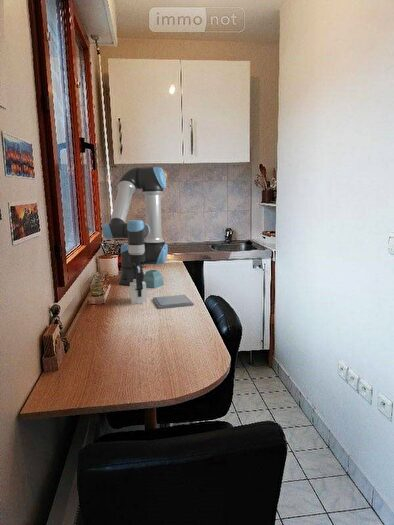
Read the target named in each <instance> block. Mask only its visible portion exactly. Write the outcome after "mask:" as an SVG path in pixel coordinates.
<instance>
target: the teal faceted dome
mask: <svg viewBox="0 0 394 525" xmlns="http://www.w3.org/2000/svg"><path fill="white" fill-rule="evenodd" d="M143 282H145V283H146V289H152V290H153V289H157V288H159V287H162V286H164V279H163V275H162V273H161V272H160V270H157V269H150V270H147V271H145V273H144V277H143Z"/></svg>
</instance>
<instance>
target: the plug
mask: <svg viewBox="0 0 394 525" xmlns="http://www.w3.org/2000/svg"><path fill="white" fill-rule="evenodd" d="M142 284H143V289H142V297H143V303H142V304H145V303H147V302H148V301H147V298H148V296H147V288H146V283H145V282H142ZM136 288H137V287H136V279H133V282H132V283H130V285H129V292H130V295H129V296H130V303H131V304H133V305H134V304H137V297H136V290H135V289H136Z"/></svg>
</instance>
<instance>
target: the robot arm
mask: <svg viewBox="0 0 394 525" xmlns="http://www.w3.org/2000/svg"><path fill="white" fill-rule="evenodd" d="M166 188H167V180H166V174H165V171H164V169H163V168H162V167H160V166H149V167H147V166H146V167H145V166H144V167H132V168H130V169H128V170H127V171H125V172H124V173H123V174H122V176H121V177H120V178H119V180H118V183H117V189H118V191H117V195H116V198H115V202H114V206H113V210H112V213H111V217H110V221H109V222H105V223H104V224H103V225H102V234H103V235H102V236H103V237H104V238H106V239H108V240H109V239H127V243H126V242H125V243H123V244H121V246H120V261H121V270H120V274H119V278H118V279H119V280H118V282H119V284H120V285H125V286H130V283H132V282H133V279H136V287H137V288H136V289H135V290H136V297H137V303H136V304H137V305H139V304H144V303H143V297H142V289H143V284H142V282H143V277H144V275H145V273H144V271H143V265H156V266H157V265H164V264H165V263H166V261H167V257H168V253H169V252H168V250H169V248H168V244H167V243H165V242H166V241H165V240H164V238H163V232H162V230H163V228H162V203H161V202H162V201H161V200H162V199H161V197H162V196H161V195H162V194H163V193H164V190H165V189H166ZM136 190H141V192H142V194H143V195H144V200H145V201H144V202H145V222H144V221H143V220H142V219H131V220H127V217H128V214H129V209H130V205H131V201H132V197H133V194H135V192H136ZM126 221H127V222H126Z"/></svg>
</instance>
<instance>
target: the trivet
mask: <svg viewBox="0 0 394 525" xmlns="http://www.w3.org/2000/svg"><path fill="white" fill-rule="evenodd" d="M152 301H153V302H154V304H155V305H156V307H157V308H158V309H159V310H160V309H161V310H163V309H171V308H181V307H183V308H184V307H191V306H194V302H193V301H192V300H191V299H190V298H189V297H187V295H186V294H177V295H166V296H155V297H152Z"/></svg>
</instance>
